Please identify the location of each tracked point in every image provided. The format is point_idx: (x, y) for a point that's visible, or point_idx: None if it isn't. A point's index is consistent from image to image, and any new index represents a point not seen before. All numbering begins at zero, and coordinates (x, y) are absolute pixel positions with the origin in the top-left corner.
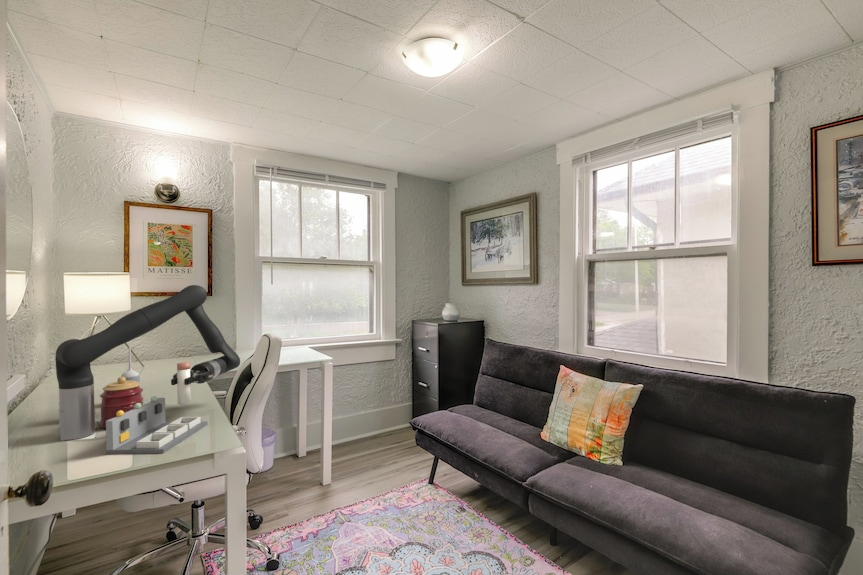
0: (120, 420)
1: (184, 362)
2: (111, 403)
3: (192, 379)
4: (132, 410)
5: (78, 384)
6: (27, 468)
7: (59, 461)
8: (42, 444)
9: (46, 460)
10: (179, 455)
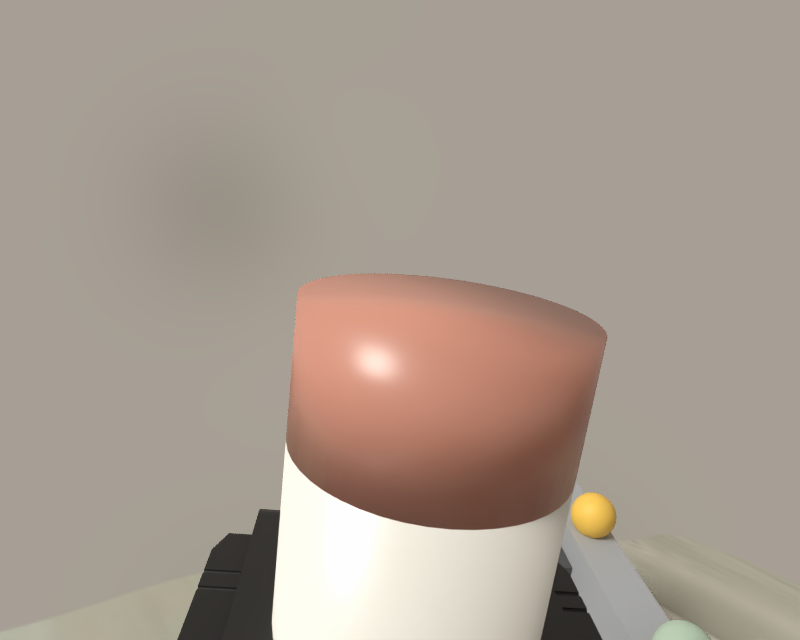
0: None
1: (548, 357)
2: None
3: (190, 629)
4: (650, 621)
5: None
6: (704, 556)
7: (667, 592)
8: None
9: (739, 605)
10: (135, 592)
